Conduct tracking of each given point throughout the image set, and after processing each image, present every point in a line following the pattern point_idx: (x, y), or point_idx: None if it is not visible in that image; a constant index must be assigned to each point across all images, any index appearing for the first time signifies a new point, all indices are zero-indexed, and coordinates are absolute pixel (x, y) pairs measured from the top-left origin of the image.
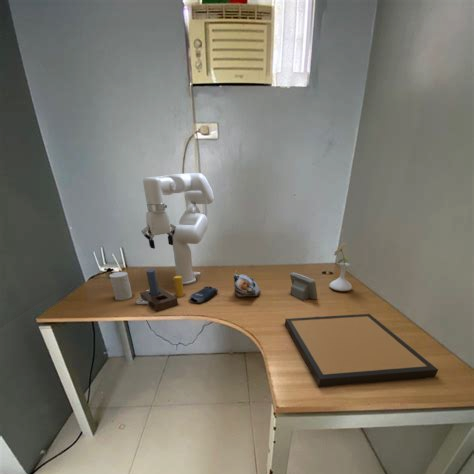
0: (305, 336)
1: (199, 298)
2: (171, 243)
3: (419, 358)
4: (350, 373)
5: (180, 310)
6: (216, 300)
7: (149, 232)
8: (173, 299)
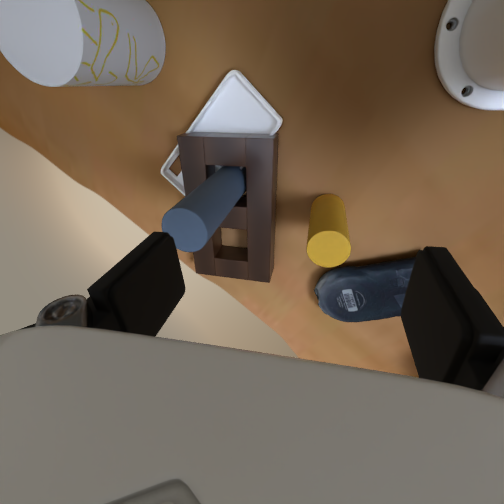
0: None
1: (331, 315)
2: (405, 327)
3: None
4: None
5: (260, 297)
6: (383, 325)
7: (9, 341)
8: (255, 280)
